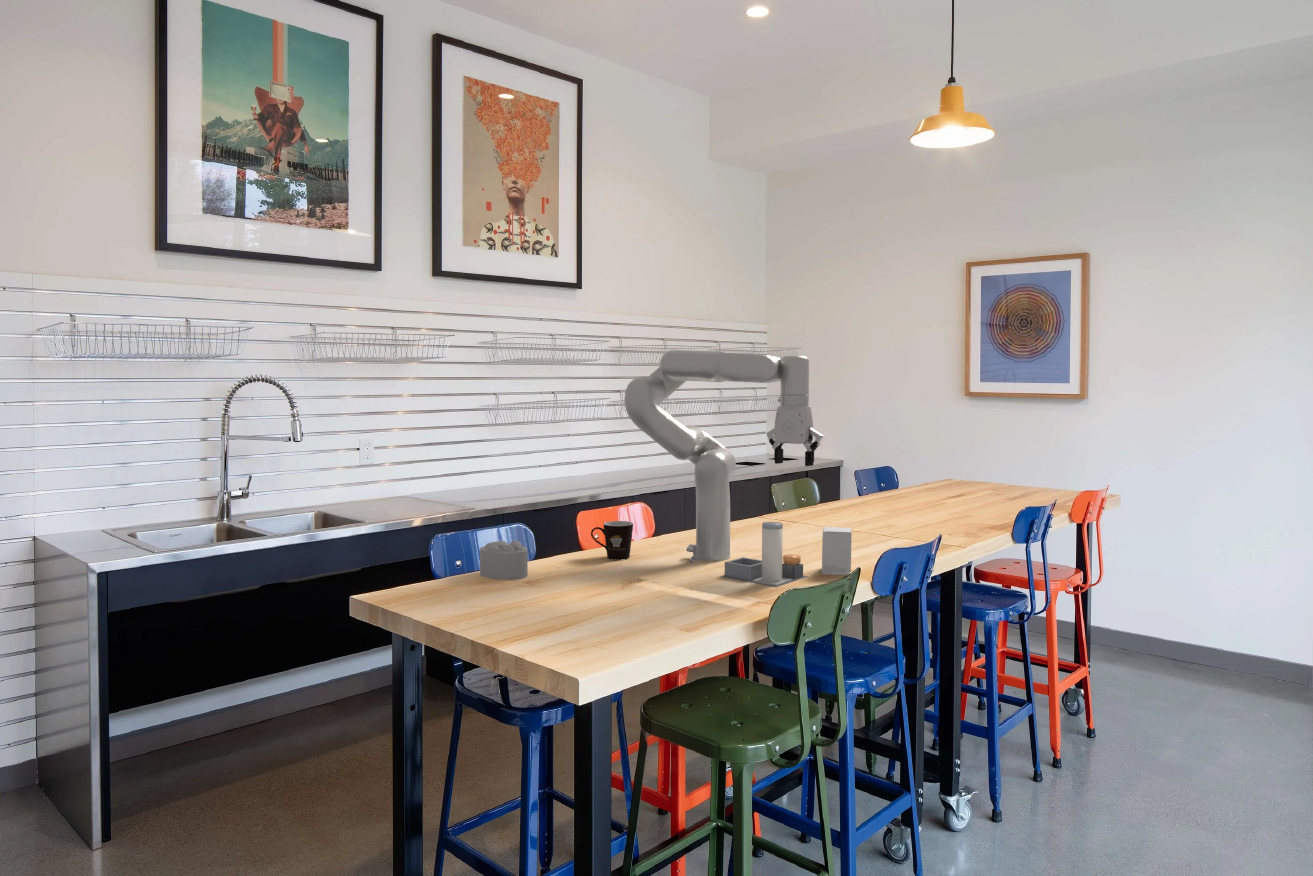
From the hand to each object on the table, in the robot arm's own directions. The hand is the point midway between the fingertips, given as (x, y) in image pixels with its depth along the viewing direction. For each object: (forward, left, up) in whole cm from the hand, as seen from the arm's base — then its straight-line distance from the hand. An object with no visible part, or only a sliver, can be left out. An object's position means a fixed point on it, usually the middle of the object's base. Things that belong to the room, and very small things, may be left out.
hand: (793, 464), depth 233 cm
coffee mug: (-46, -23, -28) cm, 59 cm away
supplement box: (+15, -3, -28) cm, 32 cm away
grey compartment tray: (+4, -20, -28) cm, 35 cm away
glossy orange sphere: (+9, -15, -26) cm, 31 cm away
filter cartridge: (+8, -23, -26) cm, 36 cm away
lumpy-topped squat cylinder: (-52, -57, -29) cm, 83 cm away
